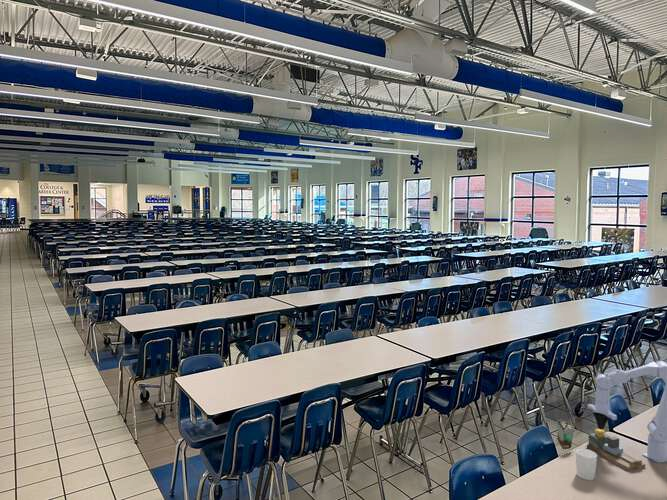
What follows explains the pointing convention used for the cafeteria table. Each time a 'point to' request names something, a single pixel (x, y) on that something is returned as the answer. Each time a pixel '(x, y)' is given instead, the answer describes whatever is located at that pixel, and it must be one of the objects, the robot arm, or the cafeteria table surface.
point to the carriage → (613, 446)
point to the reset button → (599, 432)
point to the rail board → (620, 460)
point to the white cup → (586, 463)
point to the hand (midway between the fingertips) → (600, 428)
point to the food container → (565, 434)
